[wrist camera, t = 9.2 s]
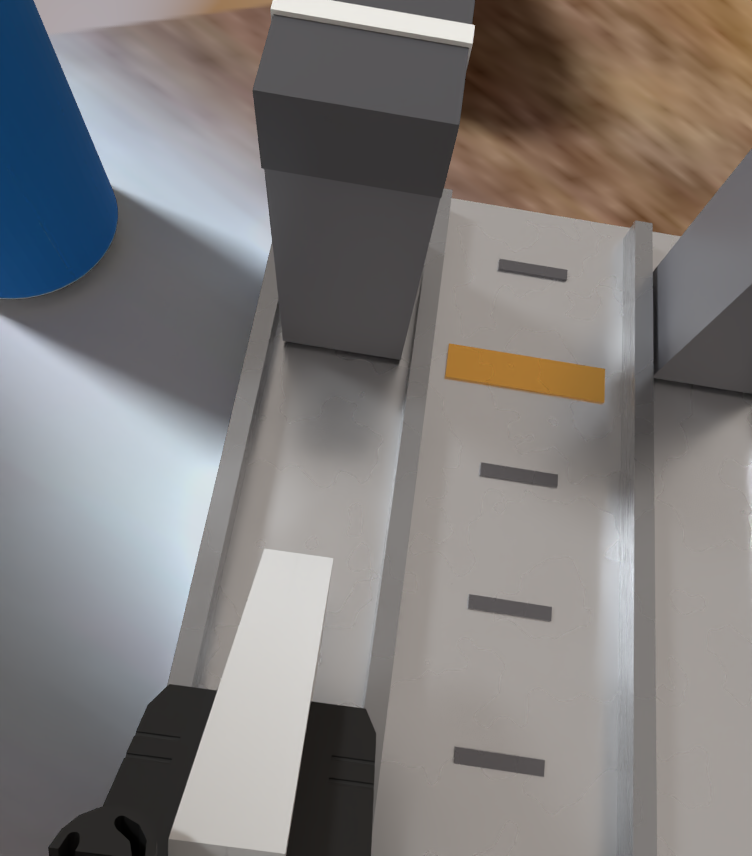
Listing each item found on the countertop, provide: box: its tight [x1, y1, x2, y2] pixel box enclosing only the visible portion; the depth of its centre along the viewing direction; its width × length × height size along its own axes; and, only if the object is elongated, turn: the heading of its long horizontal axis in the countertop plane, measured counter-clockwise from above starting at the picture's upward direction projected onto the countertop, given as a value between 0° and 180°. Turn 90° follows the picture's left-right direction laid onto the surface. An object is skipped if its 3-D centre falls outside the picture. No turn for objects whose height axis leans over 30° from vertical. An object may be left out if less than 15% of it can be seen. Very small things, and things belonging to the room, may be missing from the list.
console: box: [167, 189, 752, 856], centre depth 21 cm, size 18×22×3 cm
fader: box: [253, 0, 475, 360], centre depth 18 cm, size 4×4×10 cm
